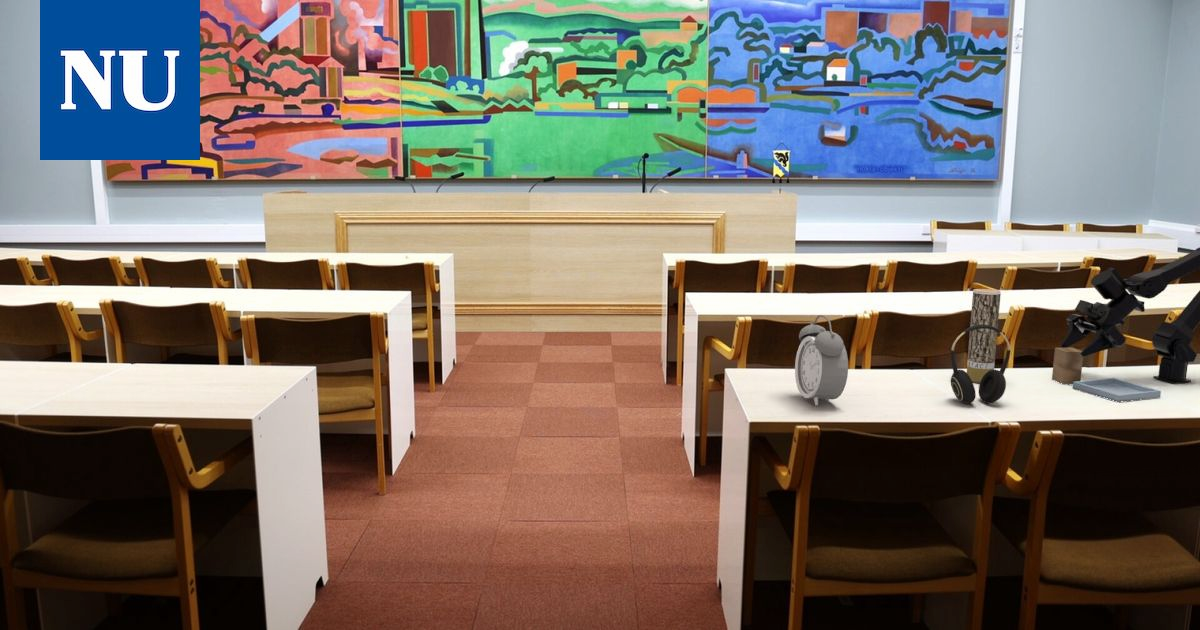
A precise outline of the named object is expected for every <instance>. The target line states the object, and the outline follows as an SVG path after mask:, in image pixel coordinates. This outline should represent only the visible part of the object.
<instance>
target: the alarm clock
mask: <svg viewBox="0 0 1200 630" xmlns="http://www.w3.org/2000/svg"><path fill="white" fill-rule="evenodd" d="M819 318H824V319H825V320H826V321H827V322H828V325H829V326H828V327H829V330H826V328H825V327H824V326H821V325H819V324H817V322H818V319H819ZM798 339H799V341H800V344H799V346H798V349H797V351H796V356H795V363H794V364H795V365H794V376H795V383H796V387H797V390H798V392H799V394H800V395H801V396H803V397H802V398H805V399H813V401H814V406H815V405H819V399H820V400H826V401H827V400H829V401H830V400H836V399H838V398H839V397H840V396H841V395H842V394H843V392H844V390H845V388H846V385H847V381H848V377H849V376H848V375H849V358H848V353H847V350H846V346H845V344H844V340H843V338H842V336H840V335H839V334H838V333H835V332H834V331H833V330H832V324H831V320H830V318H828V316H826V315H823V314H820V315H817V316H816V318H815V320H814V322H810V324H808V325H806V326H804V327H803V328H801V330H800V332H799V334H798Z"/></svg>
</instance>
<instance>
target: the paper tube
mask: <svg viewBox="0 0 1200 630" xmlns="http://www.w3.org/2000/svg"><path fill="white" fill-rule="evenodd" d="M1001 294H1002V293H1001V290H997V289H991V288H990V289H989V288H987V289H986V288H976V289H973V290H972V299H971V301H972V302H971V314H970V326H969V327H971V326H974V325H980V324H985V325H991V326H994V327H996V328H998V327H999V315H1000V308H1001V307H1000V306H1001V305H1000V304H1001V296H1002V295H1001ZM998 329H999V328H998ZM997 338H998V332H996V331H994V330H991V329H975V330H972V331H969V337H968V349H967V350H968V351H967V361H966V362H967V363H966V366H967V367H966V373H967V374H968V375H969V377H970V378H971V380H972V382H973V383H977V384H980V382H981V379H982V378H983V376H984V375H985V374H986V373H987V372H988V371H990V370H995V363H996V353H997V352H996V350H997V340H998V339H997Z"/></svg>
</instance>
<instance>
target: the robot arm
mask: <svg viewBox="0 0 1200 630" xmlns="http://www.w3.org/2000/svg"><path fill="white" fill-rule="evenodd" d="M1199 269H1200V246H1199V247H1197V248H1196V249H1195V250H1193V251H1190V253H1187V254H1185V255H1183V256H1181V257H1179V258H1177V259H1175V260H1173V261H1171V262H1169V263H1167V264H1166V265H1163V266H1161V267H1160V268H1157V269H1153V270H1147V271H1146V270H1145V271H1143V272H1139V273H1136V274H1133V275H1132V276H1130V277H1129V278H1125V279H1124V278H1123V277H1122V276H1121V275H1120V274H1119V272H1118V270H1117V269H1116V268H1112V267H1109V268H1108V269H1107V270H1103V271H1101V272H1099V273H1097V274H1095V275H1094V276H1093V277H1092V278H1091V280H1090V284H1091V286H1092V287H1093V288H1094V289H1095V290H1096V291H1097V293H1098V294H1099V295H1100V296H1101V297H1102V298H1103V299H1104V300H1110V301H1108V302H1107V304H1104V303H1102V302H1100V301H1099V302H1098V301H1096V302H1095V303H1092V302H1090V301H1087V300H1082V299H1079V300H1078V303H1077V305H1076V306H1075V308H1074V311H1075V312H1077V313H1078V312H1079V313H1080V314H1082V315H1080V314H1077V313H1071V314H1069V316H1068V317H1066V320H1067V325H1068V331H1067V334H1066V335H1065V337H1064V339H1063V341H1062V342H1061V344H1060V348H1070V346H1073V345H1075V344H1076V343H1078V342H1080V341H1082V340H1084V339H1085V338H1087V337H1086V336H1088V335H1090V334H1091V333H1094V338H1093V339H1092V340H1091V341H1090V342H1089V343H1088V344H1087V345H1086V346H1085V347H1084V349H1083V350H1081V351H1082V352H1081V355H1082V356H1083V357H1086V356H1090V355H1094V354H1095V353H1099V352H1102V351H1106V350H1109V349H1115V348H1116V347H1118V348H1121V347H1122V346H1124V345H1125V343H1126V340H1127V337H1126V336H1125V335H1124V334H1123V333H1122V332H1121V330H1119V328H1118V327H1117V326H1118V325H1120V326H1123V325H1124V324H1125V321H1124V319H1126V318H1127V317H1128V316H1129V315H1130V314H1131V313H1132V312H1133V311H1134V310H1135V311H1138V312H1141V313H1144V312H1145V301H1143V300H1139V298H1137V297H1140V298H1145V299H1148V300H1150V299H1153V298H1154V299H1155V297H1157V296H1159V295H1160V294H1162V292H1164V291H1165V290H1166V288H1167V287H1168V286H1169V285H1170V284H1171V283H1173V282H1175V281H1177V280H1178V279H1180V278H1183V277H1185V276H1187V275H1188V274H1191V273H1193V272H1195V271H1197V270H1199ZM1083 315H1085V317H1084V316H1083ZM1199 324H1200V290H1199V291H1198V292H1197V293H1196V294H1195V295H1194V296H1193V298H1192V299H1191V300H1190V301H1189V303H1188V304H1187V305H1186V307H1184V309H1183V311H1181V313H1180V314H1179V315H1178V316H1177V318H1176V319H1175V320H1173V321H1171V322H1167V321H1164V320H1163V322H1161V323H1160V325H1159V326H1158V327H1157V329H1156V330H1154V331H1153V335H1152V337H1151V342H1152V343H1151V344H1152V346H1153V349H1154V350H1155V354H1156V356H1160V357H1161V359H1160V363H1159V367H1158V374H1157V375H1154V376H1153V379H1156V380H1160V381H1163V382H1168V383H1172V384H1183V383H1191V382H1192V379H1188V378H1187V373H1188V366H1189V363H1194V362H1195V359H1196V357H1197V356H1198V355H1197V352H1195V351H1194V350H1193V349H1192V348H1191V346H1190V345H1191V344H1192V342H1193V337H1194V330H1195V329H1196V328H1197V326H1198V325H1199Z"/></svg>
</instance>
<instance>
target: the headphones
mask: <svg viewBox="0 0 1200 630" xmlns="http://www.w3.org/2000/svg"><path fill="white" fill-rule="evenodd" d="M975 329H991V330H994V331H996V332H997V334H1000V335H1001V336H1002V337H1003V339H1004V340H1005V342H1006V346H1007V349H1006V352H1005V353H1006V354H1005V357H1004V360H1003V363H1002V365H1001V366H1000V369H994V370H990V371H988V372H987V373H986V374H985V375H984V376H983V378H982V379H981V382H980V383H979V386H978V396H979V398H980V400H981V401H982V402H984V403H986V404H994V403H995V402H997V401H998V400H1000V399H1002V397H1003V396H1004V394H1005V391H1006V388H1007V381H1006V377H1005V375H1004V374H1005V372H1006V370H1007V367H1008V363H1009V360H1010V356H1011V352H1012V351H1011V345H1010V342H1009V340H1008V338H1007V336H1005V334H1004V333H1003V332H1002V331H1001V329H999V328H996V327H994V326H991V325H985V324H980V325H974V326H971V327H970V326H969V327H967V328H966V329H965V330H963V332H961V334H959V335H958V336H957V337H956V339H955V340H954V342H953V343H952V346H951V350H950V361H951V366H952V370H953V372H952V374H951V377H950V387H951V389H952V392H953V394H954V396H955V397H956V398H957V400H958V401H960V402H962V403H963V404H972V403H973V402H974V401H975V399H976V398H977V397H976V395H977V394H976V393H977V392H976V389H975V385H974V382H972V380H971V378H970V377H969V375H968V374H967V371H965V370H963V369H959V368H958V366H957V362H956V359H955V355H956V354H955V347H956V344H957V342H958V340H960V338H961V337H962V336H964V335H965V334H968V333H970V331H972V330H975Z"/></svg>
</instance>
